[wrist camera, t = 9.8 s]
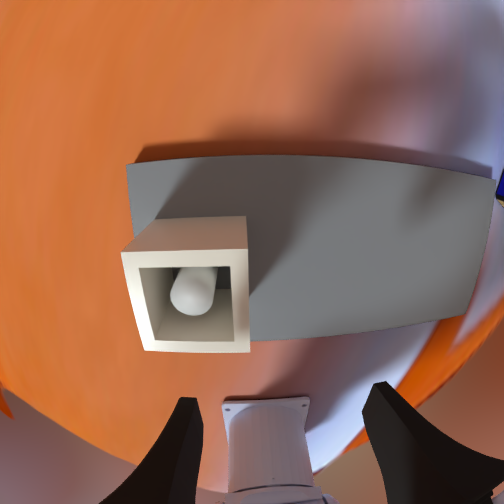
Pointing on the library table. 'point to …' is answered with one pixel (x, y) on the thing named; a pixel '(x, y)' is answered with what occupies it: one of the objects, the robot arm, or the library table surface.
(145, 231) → the collar
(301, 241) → the base board
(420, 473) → the robot arm
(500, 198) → the puzzle cube
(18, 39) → the library table surface
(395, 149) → the library table surface
